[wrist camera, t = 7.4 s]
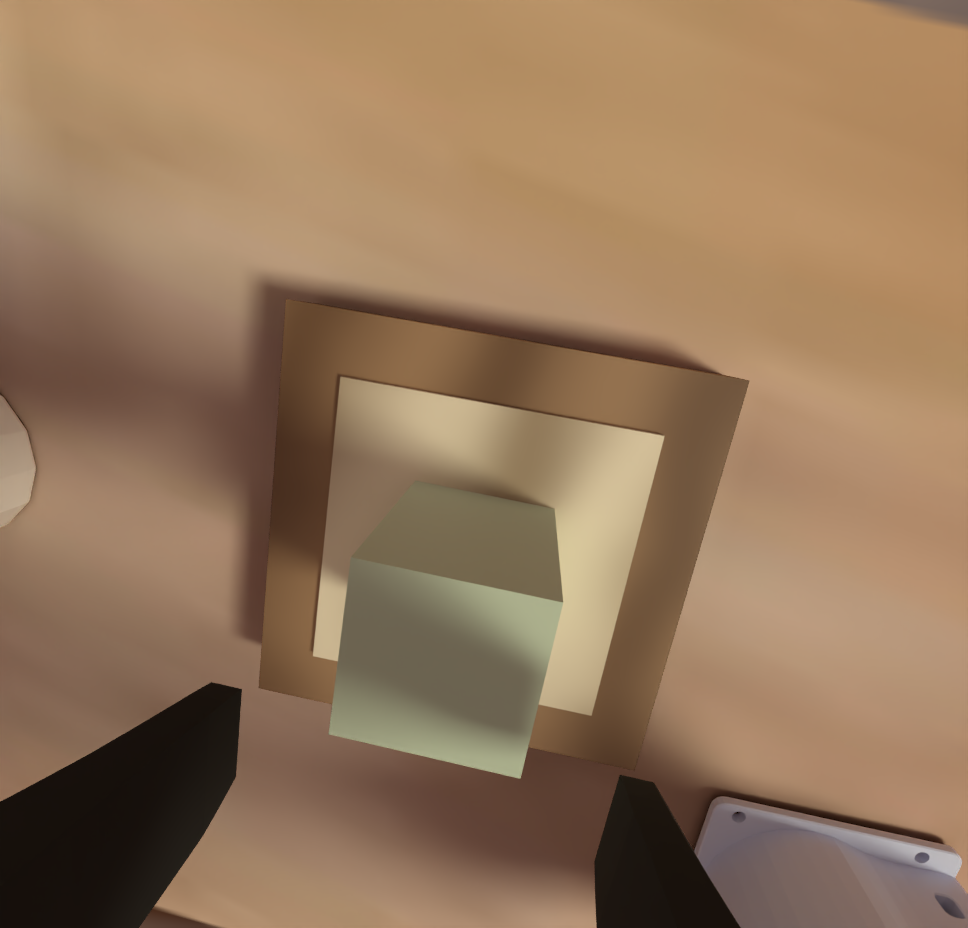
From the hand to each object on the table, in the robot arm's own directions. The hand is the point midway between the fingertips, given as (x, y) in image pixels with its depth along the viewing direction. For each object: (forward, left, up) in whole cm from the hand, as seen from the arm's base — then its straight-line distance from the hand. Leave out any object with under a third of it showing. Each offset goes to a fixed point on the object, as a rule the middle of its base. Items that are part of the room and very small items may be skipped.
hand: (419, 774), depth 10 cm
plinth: (0, -1, -10) cm, 10 cm away
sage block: (0, -1, -8) cm, 8 cm away
